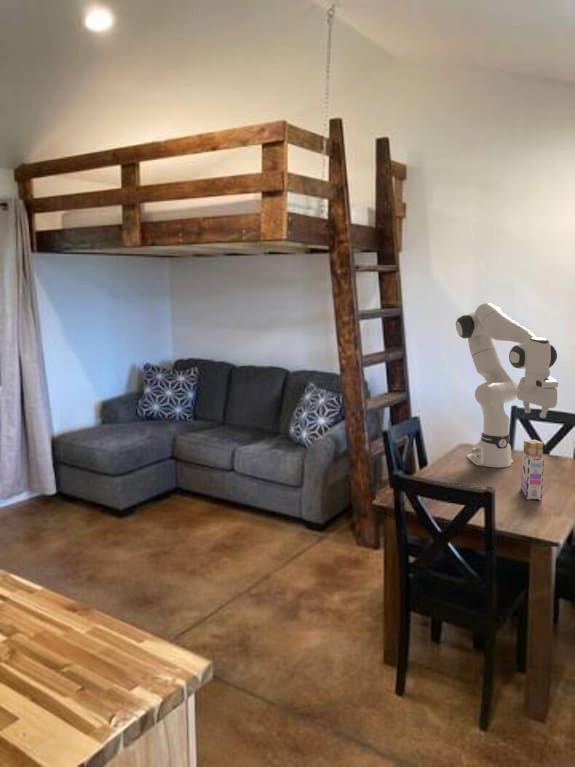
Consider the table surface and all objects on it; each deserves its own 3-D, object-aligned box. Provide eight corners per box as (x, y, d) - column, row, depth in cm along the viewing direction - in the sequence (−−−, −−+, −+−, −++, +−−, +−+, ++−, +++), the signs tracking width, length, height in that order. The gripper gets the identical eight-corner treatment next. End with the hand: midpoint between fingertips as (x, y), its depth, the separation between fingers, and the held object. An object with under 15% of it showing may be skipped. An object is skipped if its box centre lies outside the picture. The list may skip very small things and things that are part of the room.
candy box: (542, 500, 238) (544, 459, 236) (526, 499, 239) (528, 458, 237) (535, 489, 251) (537, 449, 249) (520, 488, 253) (522, 449, 250)
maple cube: (523, 452, 245) (523, 440, 244) (534, 452, 246) (535, 439, 245) (531, 456, 240) (531, 443, 239) (542, 455, 241) (543, 442, 240)
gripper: (513, 376, 248) (512, 410, 250) (546, 384, 228) (544, 421, 230) (527, 375, 249) (526, 409, 251) (561, 383, 229) (559, 420, 231)
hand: (535, 415), depth 240 cm, fingers open, 8 cm apart
